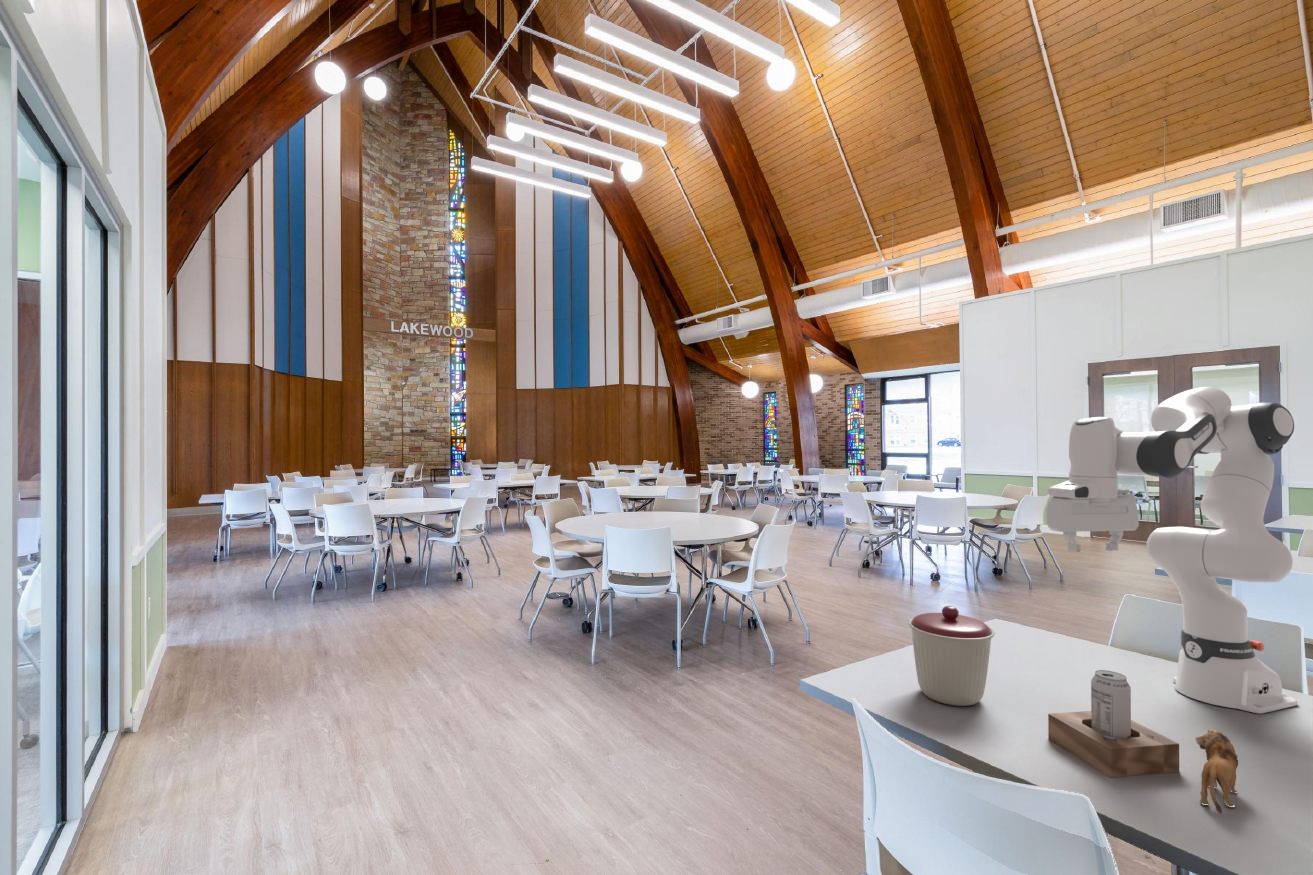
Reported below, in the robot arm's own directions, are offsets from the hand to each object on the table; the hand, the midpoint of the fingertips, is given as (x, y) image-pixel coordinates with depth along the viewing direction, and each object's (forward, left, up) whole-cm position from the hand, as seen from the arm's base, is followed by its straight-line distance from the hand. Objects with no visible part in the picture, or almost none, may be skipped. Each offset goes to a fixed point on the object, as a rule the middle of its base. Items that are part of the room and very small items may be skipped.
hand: (1093, 551), depth 134 cm
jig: (+14, +18, -35) cm, 42 cm away
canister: (+28, -10, -35) cm, 46 cm away
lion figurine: (+8, +32, -35) cm, 48 cm away
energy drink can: (+14, +18, -35) cm, 42 cm away
